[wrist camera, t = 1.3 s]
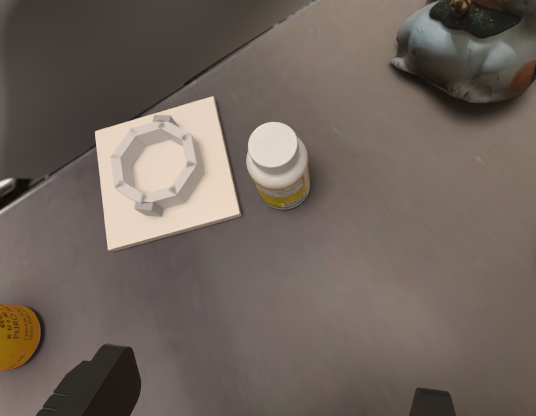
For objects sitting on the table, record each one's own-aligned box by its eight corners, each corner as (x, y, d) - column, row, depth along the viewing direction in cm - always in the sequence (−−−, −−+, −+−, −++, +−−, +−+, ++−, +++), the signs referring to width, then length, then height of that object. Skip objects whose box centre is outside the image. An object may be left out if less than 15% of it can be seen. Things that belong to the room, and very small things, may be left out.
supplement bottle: (298, 218, 39) (290, 185, 30) (250, 199, 40) (228, 163, 31) (318, 170, 40) (316, 125, 31) (271, 154, 41) (255, 106, 32)
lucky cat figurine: (365, 49, 43) (411, -112, 33) (444, 36, 47) (507, -109, 37) (466, 125, 34) (571, -60, 24) (551, 102, 39) (671, -65, 28)
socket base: (215, 101, 44) (206, 82, 40) (242, 216, 39) (234, 206, 36) (99, 135, 45) (81, 120, 41) (113, 251, 40) (94, 245, 37)
